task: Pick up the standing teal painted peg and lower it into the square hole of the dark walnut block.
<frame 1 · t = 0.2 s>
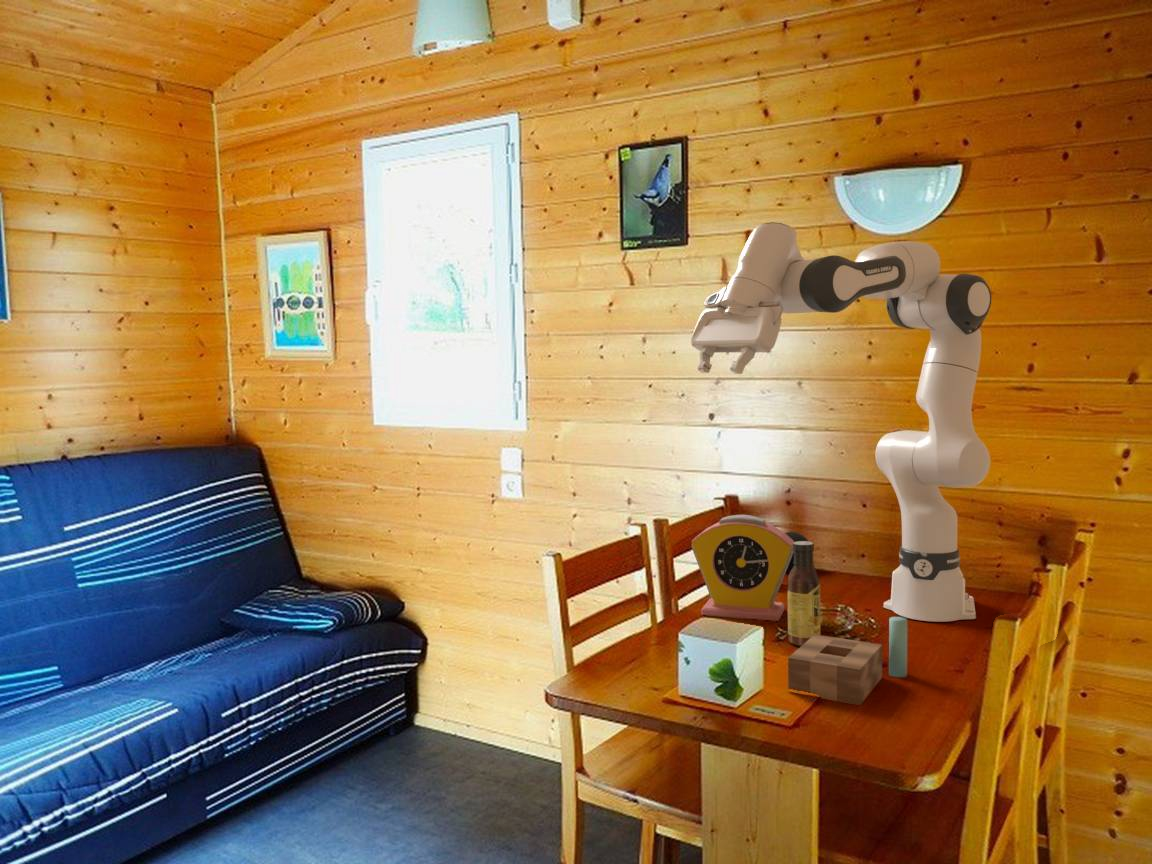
hand: (718, 372, 166), 54 cm above the table, tool tilted 30°, fingers open, 8 cm apart
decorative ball: (791, 571, 237), on the table
sauce bottle: (804, 643, 181), on the table
peg: (897, 674, 163), on the table
toy fire truck: (760, 586, 224), on the table
yellow mantel clock: (743, 613, 202), on the table
hole block: (835, 684, 159), on the table
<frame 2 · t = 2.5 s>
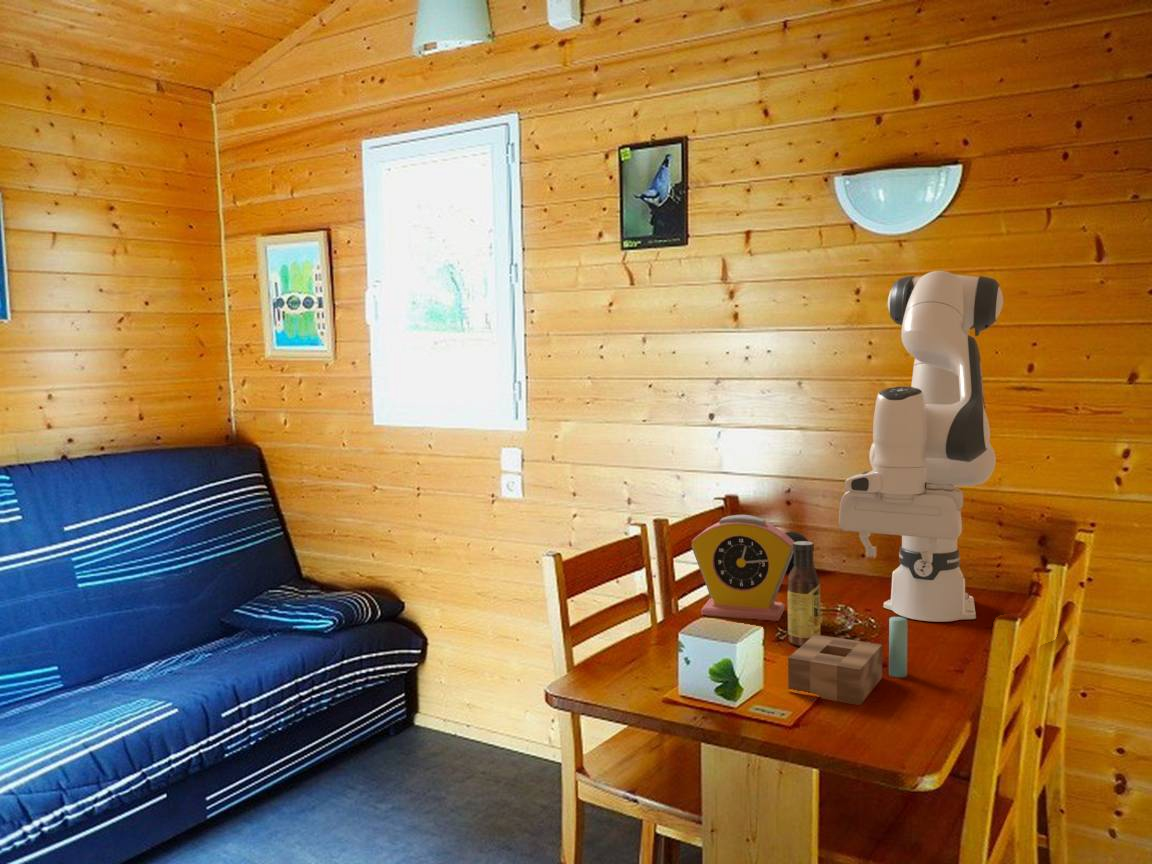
hand: (898, 559, 161), 21 cm above the table, tool pointing down, fingers open, 8 cm apart
nothing on the table moved.
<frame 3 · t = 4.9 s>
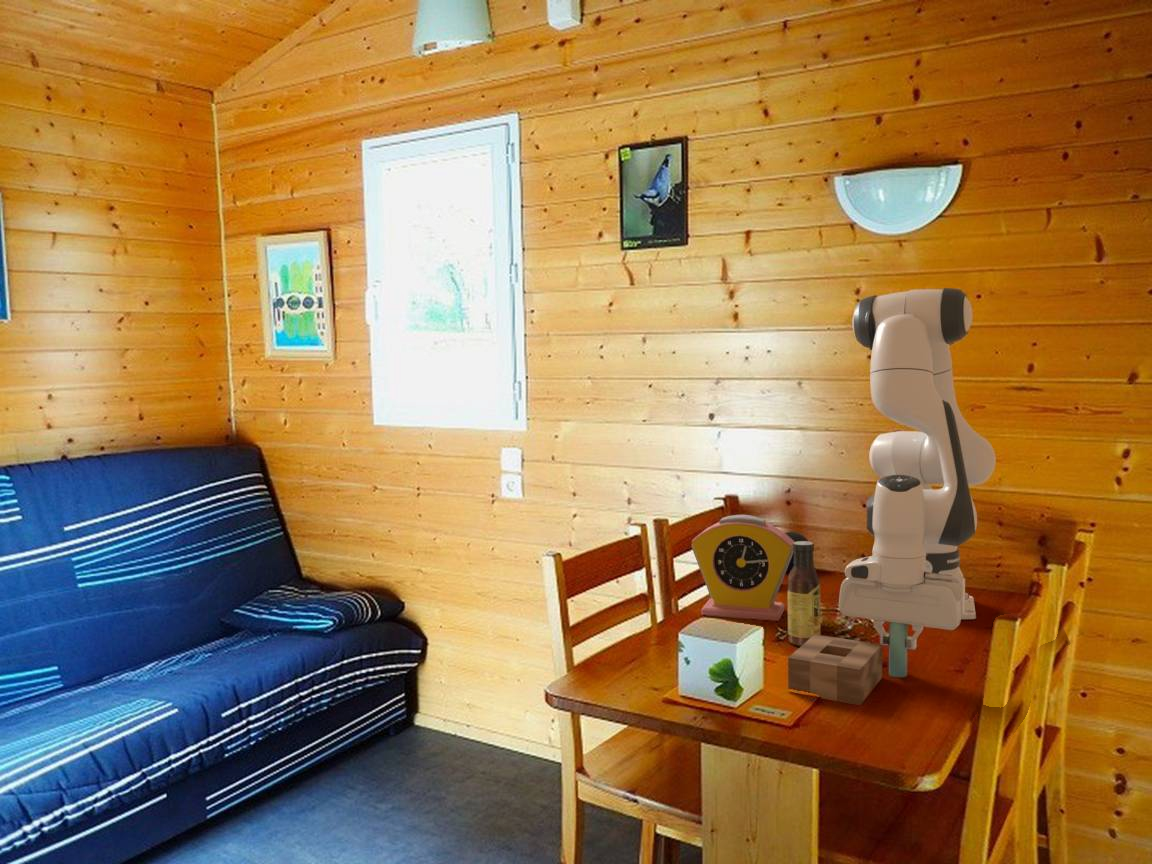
hand: (898, 646, 163), 5 cm above the table, tool pointing down, fingers closed on peg, 3 cm apart
peg: (897, 674, 163), on the table, touching gripper
everything else where it was.
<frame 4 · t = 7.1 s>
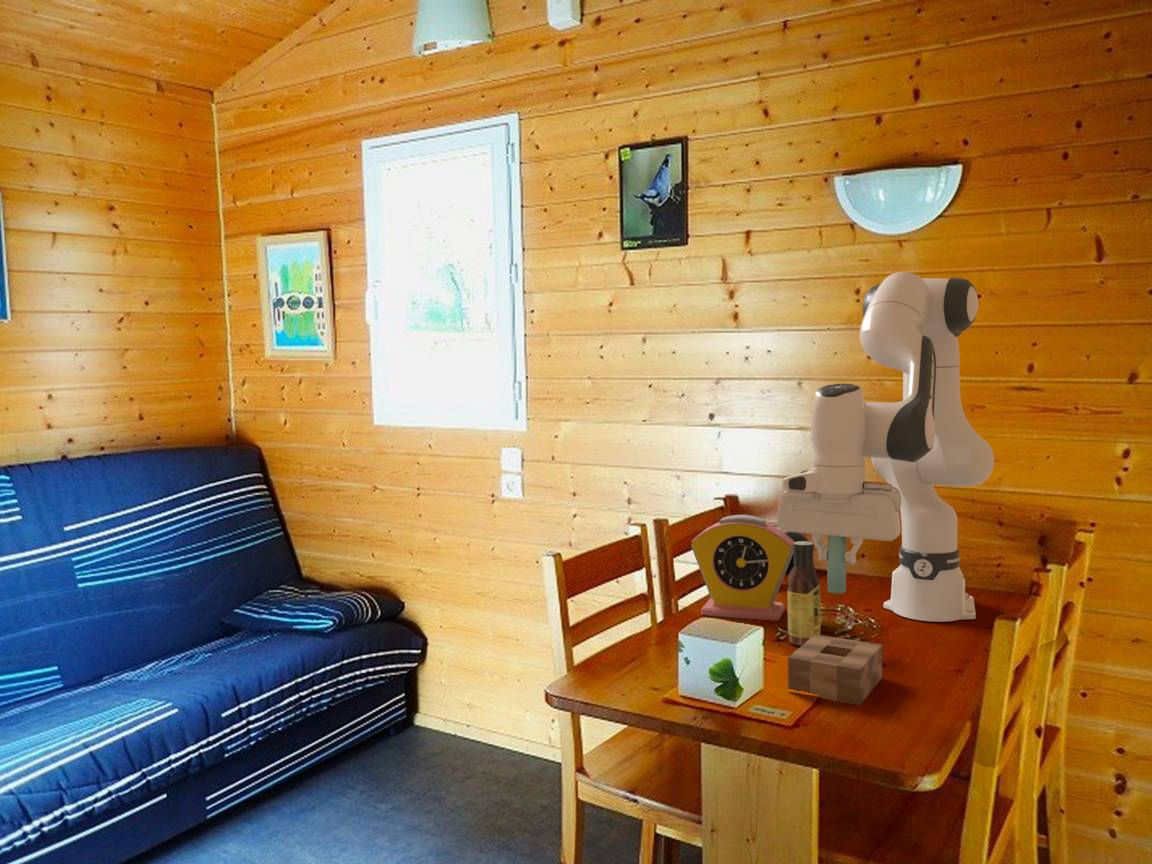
hand: (836, 561, 157), 22 cm above the table, tool pointing down, fingers closed on peg, 3 cm apart
peg: (836, 591, 157), point 17 cm above the table, touching gripper
everything else where it was.
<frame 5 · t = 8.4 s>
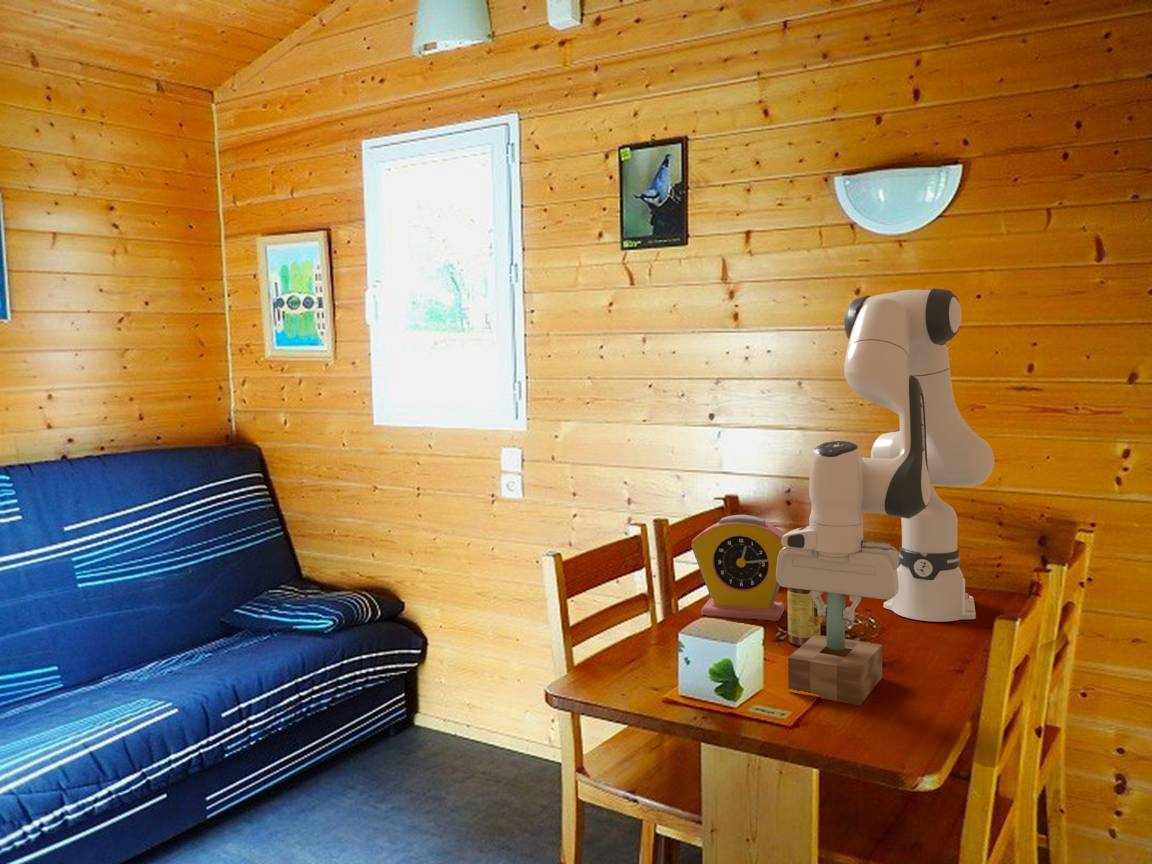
hand: (835, 617, 158), 12 cm above the table, tool pointing down, fingers closed on peg, 3 cm apart
peg: (835, 646, 158), point 7 cm above the table, touching gripper
everything else where it was.
when the fingers open (8 cm above the table, at t = 9.5 s): peg drops 2 cm, resting in hole block.
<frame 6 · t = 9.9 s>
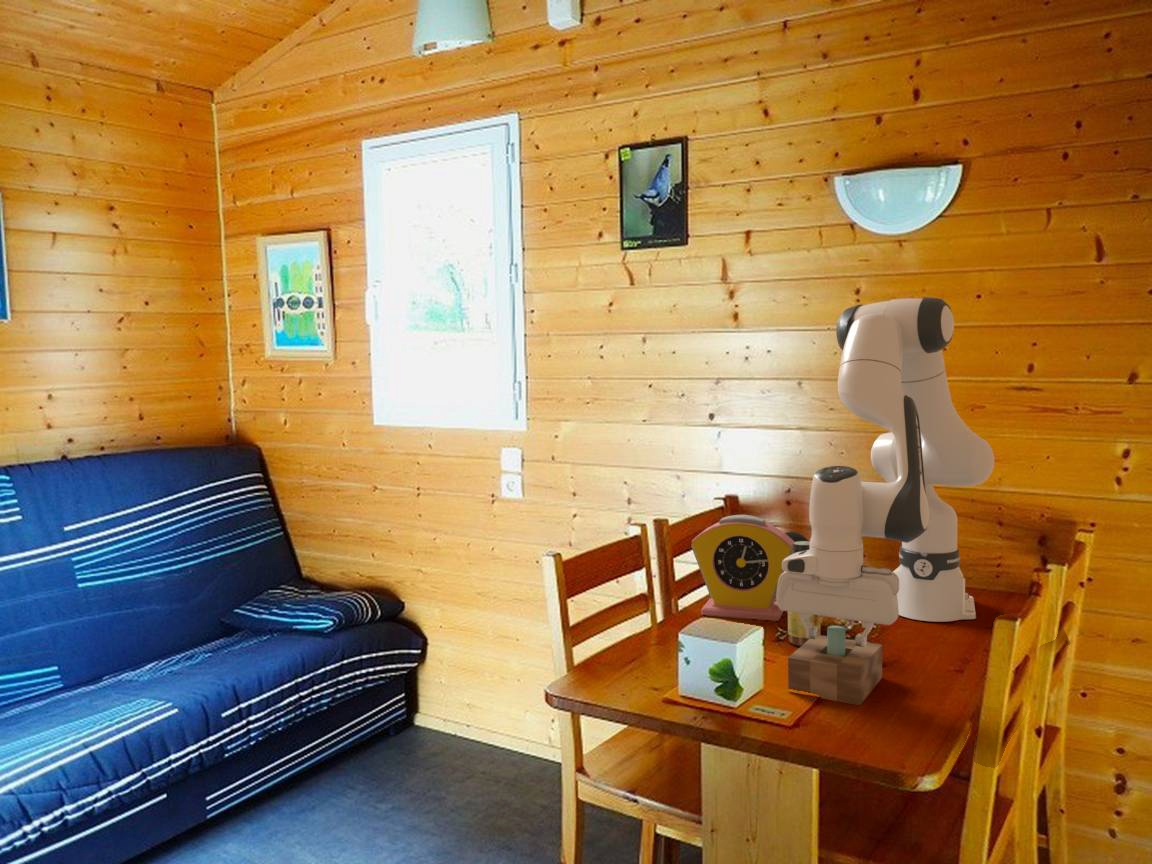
hand: (836, 641, 158), 8 cm above the table, tool pointing down, fingers open, 7 cm apart
peg: (836, 684, 159), resting in hole block
everything else where it was.
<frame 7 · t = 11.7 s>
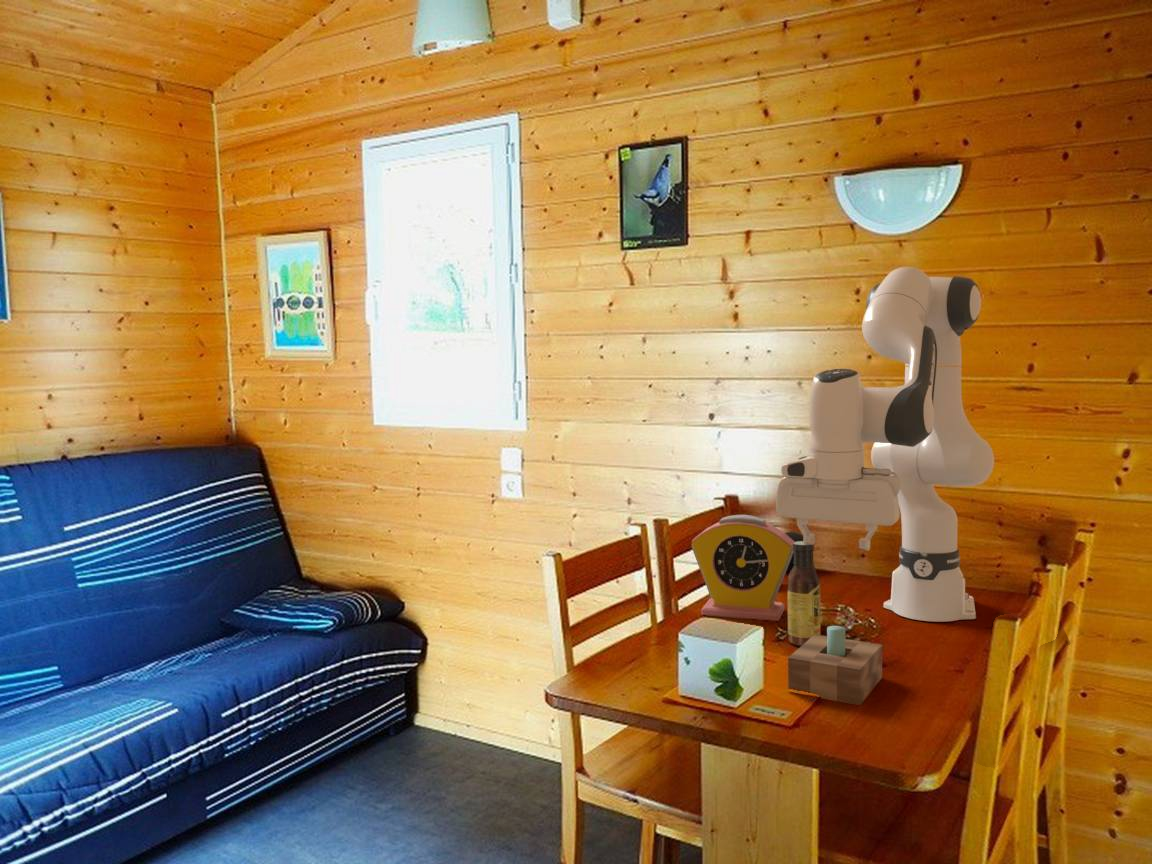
hand: (836, 546, 157), 24 cm above the table, tool pointing down, fingers open, 8 cm apart
nothing on the table moved.
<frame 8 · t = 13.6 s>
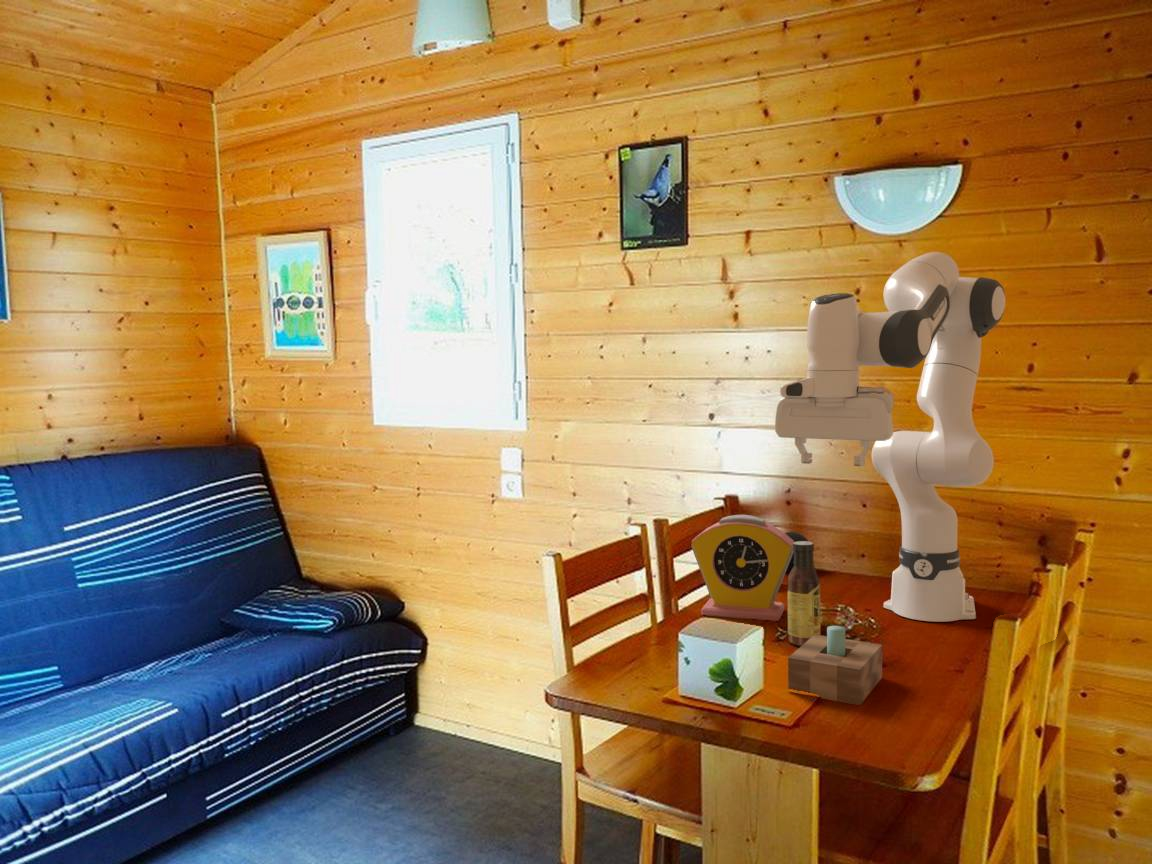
hand: (832, 464, 164), 37 cm above the table, tool pointing down, fingers open, 8 cm apart
nothing on the table moved.
at the end: peg 0.0 cm off-centre on the hole block, point 0.0 cm above the hole block's base; peg tilted 0°; the gripper is holding nothing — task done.
